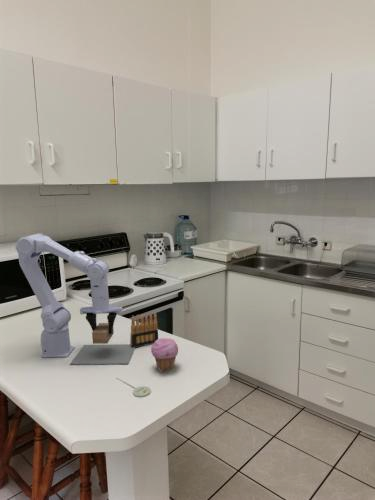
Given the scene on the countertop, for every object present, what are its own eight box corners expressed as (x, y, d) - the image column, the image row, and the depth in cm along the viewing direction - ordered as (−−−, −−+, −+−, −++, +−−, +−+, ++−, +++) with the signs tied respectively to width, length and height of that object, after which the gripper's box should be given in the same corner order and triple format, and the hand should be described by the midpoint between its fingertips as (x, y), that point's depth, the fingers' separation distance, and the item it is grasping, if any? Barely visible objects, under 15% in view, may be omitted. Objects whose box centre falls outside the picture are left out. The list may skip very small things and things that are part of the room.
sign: (123, 374, 120) (154, 390, 109) (123, 376, 120) (154, 392, 109) (109, 380, 116) (140, 397, 106) (109, 383, 116) (140, 400, 106)
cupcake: (149, 364, 125) (147, 336, 124) (173, 359, 129) (172, 332, 127) (157, 377, 117) (155, 347, 115) (182, 371, 120) (181, 342, 119)
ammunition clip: (131, 347, 138) (131, 316, 136) (130, 345, 139) (129, 315, 137) (158, 342, 143) (158, 312, 141) (156, 340, 144) (156, 310, 142)
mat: (69, 364, 127) (69, 363, 127) (84, 345, 142) (84, 344, 142) (128, 364, 126) (128, 363, 126) (136, 345, 141) (136, 344, 141)
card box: (100, 333, 138) (99, 323, 137) (113, 333, 137) (112, 322, 137) (92, 343, 129) (92, 332, 128) (107, 343, 128) (106, 332, 128)
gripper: (75, 299, 127) (79, 337, 129) (118, 299, 126) (120, 337, 128) (82, 293, 133) (85, 329, 136) (122, 292, 133) (125, 329, 135)
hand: (103, 332), depth 133 cm, fingers closed on card box, 5 cm apart
